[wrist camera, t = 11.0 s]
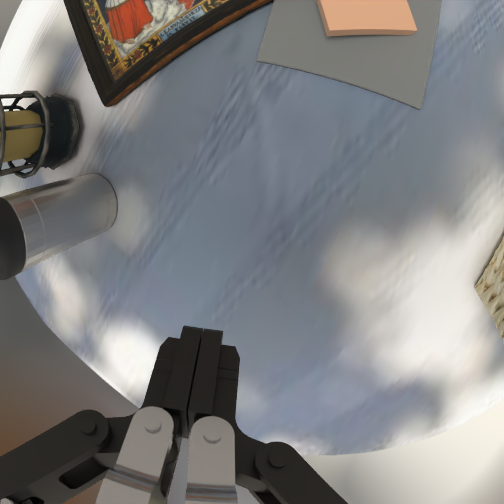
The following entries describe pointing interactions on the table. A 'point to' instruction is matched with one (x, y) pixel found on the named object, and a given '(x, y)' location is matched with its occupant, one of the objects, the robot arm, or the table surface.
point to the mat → (354, 50)
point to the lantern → (37, 132)
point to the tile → (366, 17)
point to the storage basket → (494, 288)
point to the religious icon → (143, 36)
